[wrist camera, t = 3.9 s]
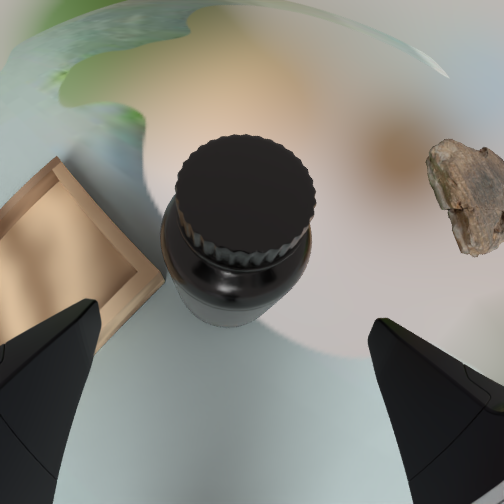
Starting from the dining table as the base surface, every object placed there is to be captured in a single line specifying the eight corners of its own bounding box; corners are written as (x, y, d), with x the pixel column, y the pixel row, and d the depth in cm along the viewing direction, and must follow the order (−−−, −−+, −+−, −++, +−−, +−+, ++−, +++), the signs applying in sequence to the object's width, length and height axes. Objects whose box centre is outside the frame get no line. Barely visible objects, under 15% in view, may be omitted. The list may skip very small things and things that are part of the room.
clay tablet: (486, 156, 34) (408, 150, 29) (504, 140, 29) (431, 124, 24) (523, 237, 30) (459, 265, 25) (545, 225, 25) (492, 248, 20)
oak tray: (31, 424, 14) (14, 429, 12) (-42, 292, 16) (-59, 284, 14) (165, 282, 20) (160, 271, 18) (66, 172, 22) (56, 155, 20)
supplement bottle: (182, 232, 21) (166, 107, 10) (274, 239, 22) (333, 126, 11) (173, 326, 19) (127, 276, 8) (274, 332, 20) (357, 290, 9)
